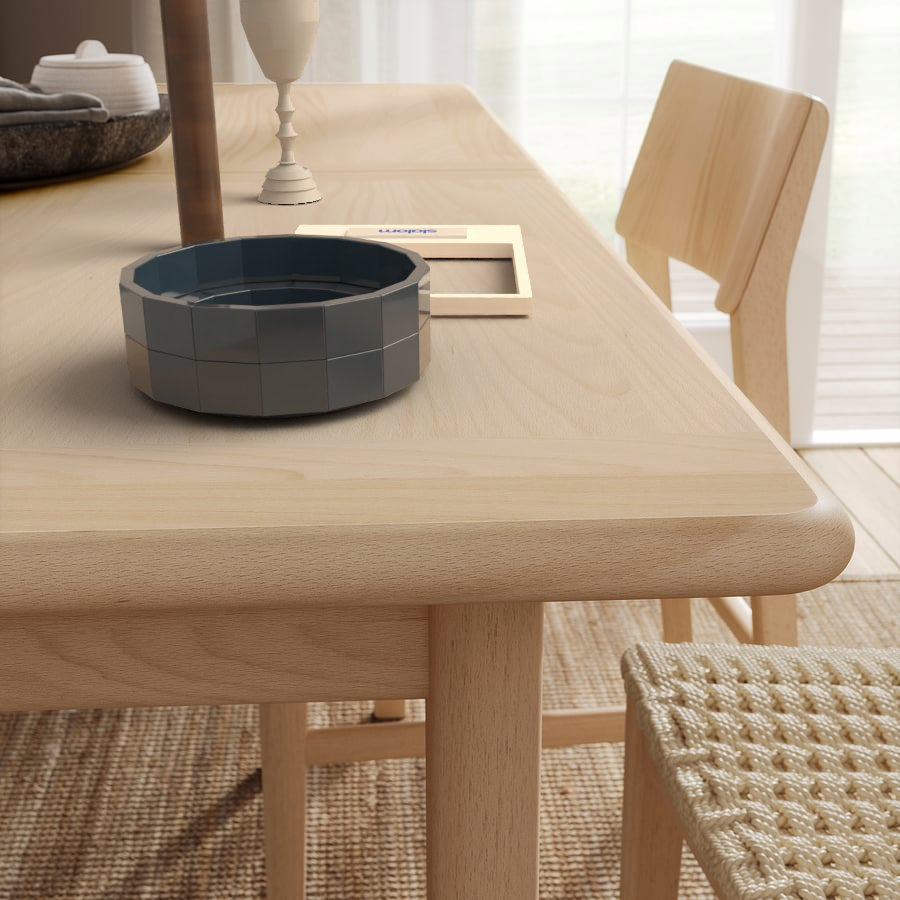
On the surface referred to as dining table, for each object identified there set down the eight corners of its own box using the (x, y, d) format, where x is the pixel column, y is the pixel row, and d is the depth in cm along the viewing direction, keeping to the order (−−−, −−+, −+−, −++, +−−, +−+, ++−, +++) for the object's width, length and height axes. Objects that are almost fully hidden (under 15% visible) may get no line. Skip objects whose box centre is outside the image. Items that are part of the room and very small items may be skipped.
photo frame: (519, 222, 78) (532, 293, 61) (519, 239, 78) (532, 314, 61) (299, 221, 78) (253, 293, 61) (300, 238, 78) (254, 313, 62)
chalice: (245, 191, 95) (228, -51, 88) (329, 188, 96) (319, -51, 89) (247, 209, 88) (229, -51, 81) (337, 205, 89) (327, -51, 82)
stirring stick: (172, 248, 76) (147, -16, 70) (202, 240, 78) (181, -17, 72) (204, 253, 75) (181, -16, 69) (234, 245, 77) (214, -17, 71)
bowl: (68, 391, 51) (52, 279, 49) (267, 318, 61) (260, 223, 59) (303, 454, 45) (296, 327, 43) (482, 361, 55) (483, 255, 53)
